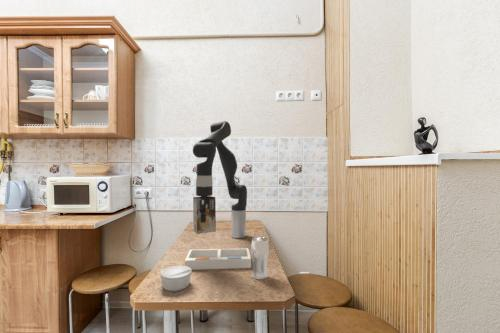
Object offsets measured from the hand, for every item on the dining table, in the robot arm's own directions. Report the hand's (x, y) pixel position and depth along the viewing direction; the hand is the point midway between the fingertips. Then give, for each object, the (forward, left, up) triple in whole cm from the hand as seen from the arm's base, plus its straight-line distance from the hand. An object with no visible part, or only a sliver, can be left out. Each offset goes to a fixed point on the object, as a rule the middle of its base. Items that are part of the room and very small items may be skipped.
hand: (204, 220), depth 114 cm
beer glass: (+17, +24, -20) cm, 35 cm away
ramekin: (+22, -8, -20) cm, 31 cm away
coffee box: (0, 0, -5) cm, 5 cm away
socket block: (+1, +7, -19) cm, 21 cm away
